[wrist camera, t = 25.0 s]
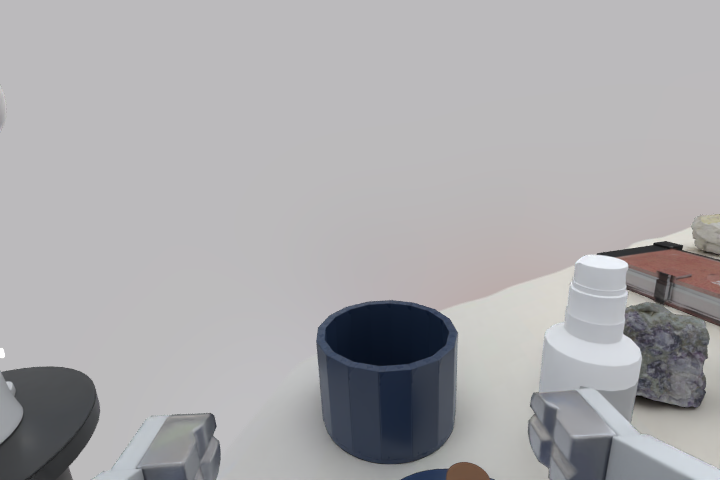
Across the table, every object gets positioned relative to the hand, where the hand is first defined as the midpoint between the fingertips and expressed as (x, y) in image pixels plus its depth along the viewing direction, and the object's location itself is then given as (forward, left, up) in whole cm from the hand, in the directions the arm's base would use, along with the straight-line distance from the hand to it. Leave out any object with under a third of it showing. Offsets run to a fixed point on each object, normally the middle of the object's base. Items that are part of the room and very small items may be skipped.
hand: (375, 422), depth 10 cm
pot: (+3, +25, -21) cm, 33 cm away
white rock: (+81, +67, -21) cm, 107 cm away
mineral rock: (+30, +27, -21) cm, 46 cm away
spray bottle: (+19, +19, -21) cm, 34 cm away
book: (+57, +47, -21) cm, 77 cm away
